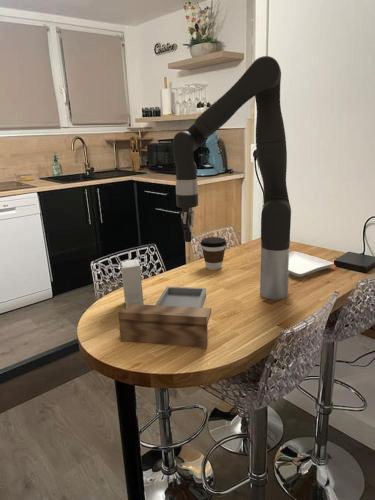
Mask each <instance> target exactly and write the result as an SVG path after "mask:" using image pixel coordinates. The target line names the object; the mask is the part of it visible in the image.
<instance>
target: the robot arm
mask: <svg viewBox="0 0 375 500" xmlns="http://www.w3.org/2000/svg"><path fill="white" fill-rule="evenodd" d="M281 79H282V70H281V67H280V63H279V62H278V61H277V60H276V59H275V58H274V57H272V56H270V55H262V56H259V57H258V58H256V59H255V60H254V61H253V62H252V63H251V64H250V66H249V67H248V68H247V69H246V71H245V72H244V73H243V74H242V75H241V77H240V78H239V79H238V80H237V81H236V82H235V83H234V84H233V85H232V86H231V87H230V88H229V90H227V91H226V92H225V93H224V94H223V95H222V96H221V97H219V98H218V99H217V100H216V101H215V102H213V103H212V104H211V105H210V106H209V107H208V108H207V109H205V110H204V111H203V112H202V113H201V114H200V115H199V116H198V117H197V118H196V119H195V120H194V123H193V124H192V125H191V126H189V127H188V128H187V129H186V130H185V131H183V130H182V131H179V132H177V133H176V134H175V135H174V137H173V139H172V153H173V159H174V163H175V179H176V181H175V182H176V183H175V199H176V200H175V201H176V206H177V208H181V209H182V211H181V212H180V216H181V217H180V225H181V229H182V232H184V242H185V243H191V241H192V240H193V239H192V233H193V232H192V231H193V228H194V222H195V221H194V219H195V218H194V217H195V211H194V210H193V208H196V207H198V205H199V185H198V172H197V171H198V169H197V164H196V162H195V159H194V152H195V151H196V150H197V149H198V148H199V147H201V146H202V144H203V143H205V141H207V139H208V138H209V137H210V136H212V135H213V134H214V133H216V132H217V131H218V130H219V129H220V128H221V127H223V126H224V125H225V124H226V123H227V122H228V121H229V120H230V119H231V118H232V117H233V115H235V114H236V113H237V111H239V109H241V108H242V107H243V106H244V105H245V104H246V103H247V102H248V101H250V100H251V99H252V98H253V97H254V98H255V104H256V105H255V106H256V121H255V122H256V124H255V149H256V158H257V162H258V168H259V173H260V175H261V179H262V182H263V183H262V184H263V207H262V210H261V214H260V215H261V216H260V217H261V218H260V247H261V248H260V279H259V281H260V282H259V286H260V287H259V295H260V296H261V297H262V298H265V299H268V300H282V299H283V300H284V299H288V297H289V277H290V274H289V270H288V267H289V252H290V244H291V225H292V221H291V220H292V207H291V204H290V203H291V202H290V198H289V194H288V188H287V167H288V162H287V161H288V158H287V157H288V151H287V137H286V132H285V123H284V119H283V113H282V109H281Z"/></svg>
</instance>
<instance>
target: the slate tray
mask: <svg viewBox="0 0 375 500" xmlns="http://www.w3.org/2000/svg"><path fill="white" fill-rule="evenodd" d="M206 298H207V288H206V287H189V286H187V287H185V286H168V285H167V286H166V287H165V288H164V290H163V292H162V294H161V295H160V297H159V298H158V300H157V301H156V303H155V305H159V306H177V307H196V308H204V303H205V301H206Z"/></svg>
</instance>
